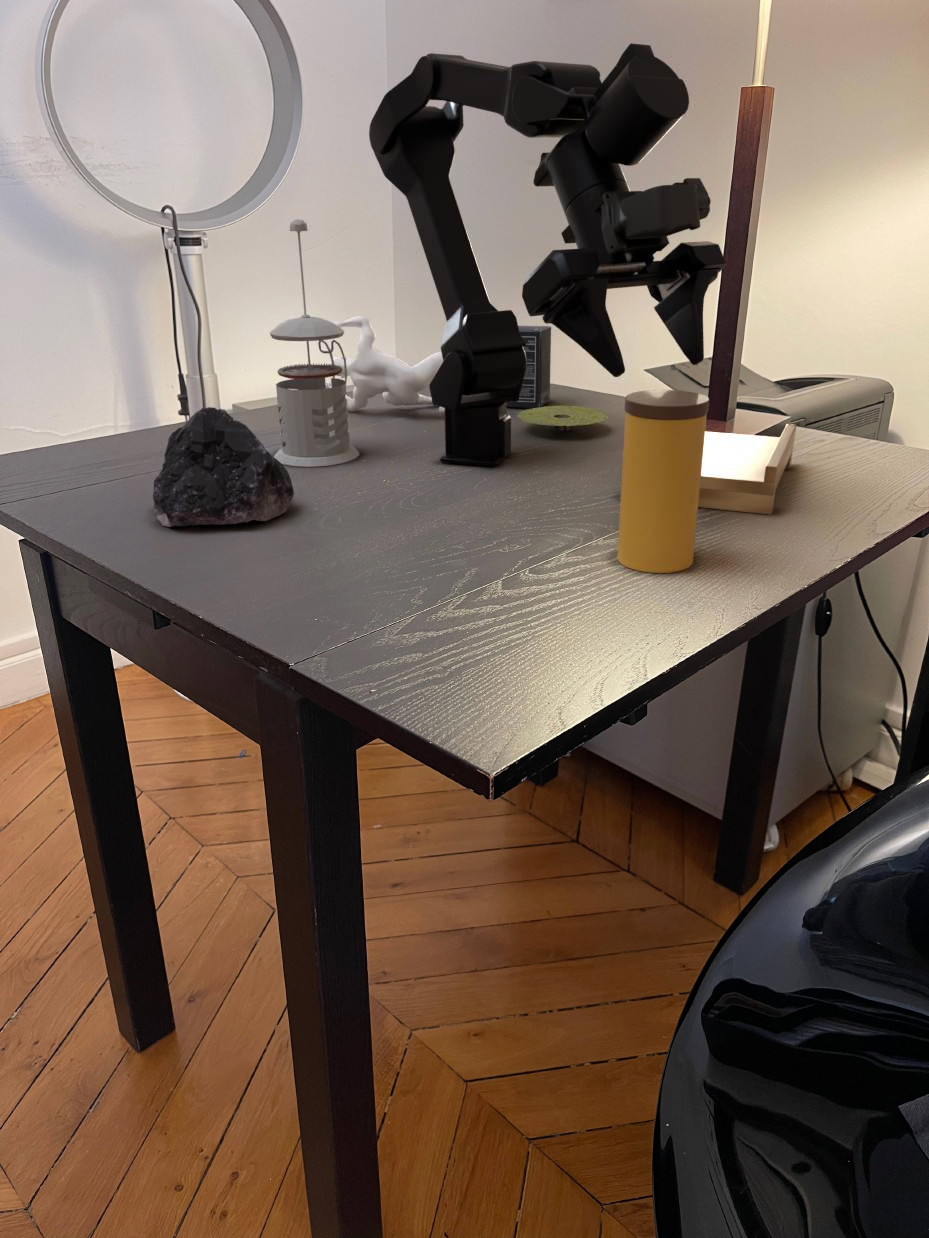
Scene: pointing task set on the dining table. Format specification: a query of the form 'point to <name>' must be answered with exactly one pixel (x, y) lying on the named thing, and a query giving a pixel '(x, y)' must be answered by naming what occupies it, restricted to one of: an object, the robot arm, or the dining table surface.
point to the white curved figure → (384, 372)
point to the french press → (312, 394)
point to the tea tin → (661, 479)
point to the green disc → (562, 416)
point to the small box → (535, 367)
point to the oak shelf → (744, 470)
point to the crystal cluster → (219, 475)
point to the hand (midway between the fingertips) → (660, 368)
